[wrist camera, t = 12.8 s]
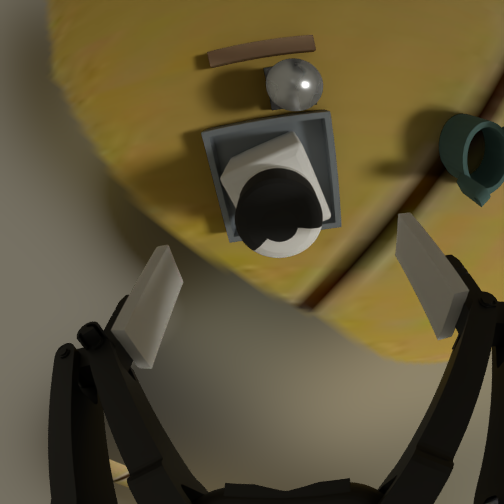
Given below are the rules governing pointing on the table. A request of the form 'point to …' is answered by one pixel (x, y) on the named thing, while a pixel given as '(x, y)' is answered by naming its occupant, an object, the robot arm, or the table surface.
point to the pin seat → (261, 50)
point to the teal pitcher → (456, 149)
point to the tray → (264, 129)
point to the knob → (293, 85)
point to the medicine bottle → (276, 197)
